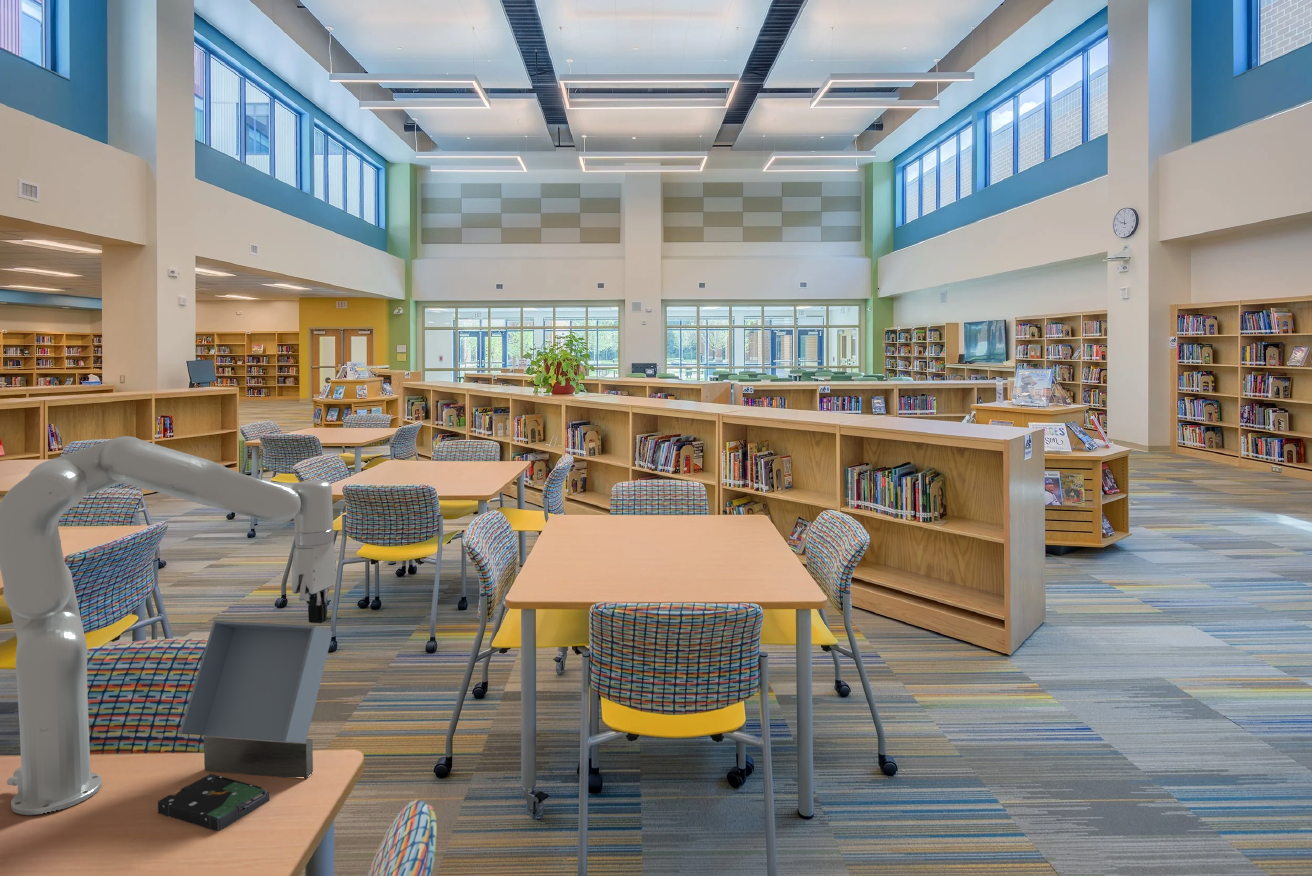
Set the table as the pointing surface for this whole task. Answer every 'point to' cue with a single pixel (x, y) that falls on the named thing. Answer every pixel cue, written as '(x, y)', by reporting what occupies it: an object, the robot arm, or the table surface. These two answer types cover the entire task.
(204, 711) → the cover
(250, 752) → the long flat gray bar
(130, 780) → the table surface
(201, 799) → the disk drive
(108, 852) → the table surface
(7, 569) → the robot arm
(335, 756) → the table surface
